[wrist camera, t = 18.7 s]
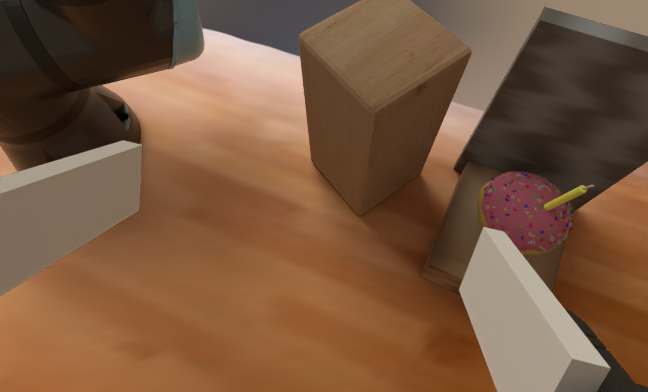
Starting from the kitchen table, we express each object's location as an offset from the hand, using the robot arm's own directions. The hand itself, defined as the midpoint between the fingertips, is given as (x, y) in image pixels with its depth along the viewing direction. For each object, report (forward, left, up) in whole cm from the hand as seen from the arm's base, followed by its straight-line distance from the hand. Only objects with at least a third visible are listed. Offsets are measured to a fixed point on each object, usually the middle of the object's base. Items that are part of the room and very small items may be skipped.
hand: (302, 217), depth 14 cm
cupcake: (+13, +17, -26) cm, 33 cm away
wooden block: (-3, +19, -29) cm, 34 cm away
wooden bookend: (+14, +17, -28) cm, 36 cm away
